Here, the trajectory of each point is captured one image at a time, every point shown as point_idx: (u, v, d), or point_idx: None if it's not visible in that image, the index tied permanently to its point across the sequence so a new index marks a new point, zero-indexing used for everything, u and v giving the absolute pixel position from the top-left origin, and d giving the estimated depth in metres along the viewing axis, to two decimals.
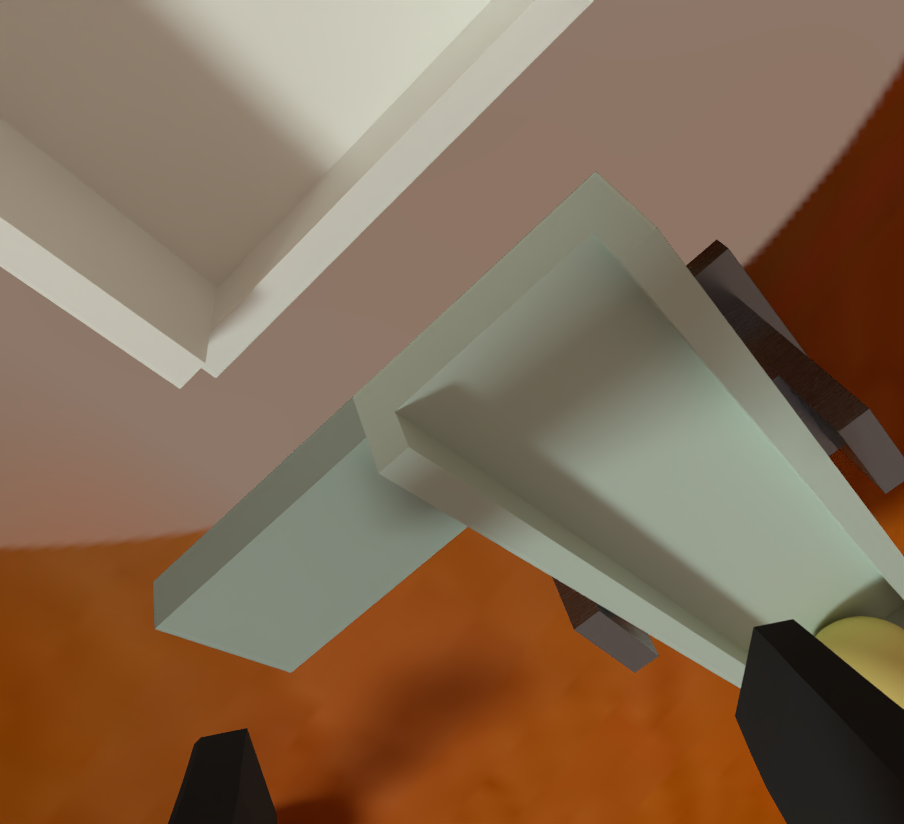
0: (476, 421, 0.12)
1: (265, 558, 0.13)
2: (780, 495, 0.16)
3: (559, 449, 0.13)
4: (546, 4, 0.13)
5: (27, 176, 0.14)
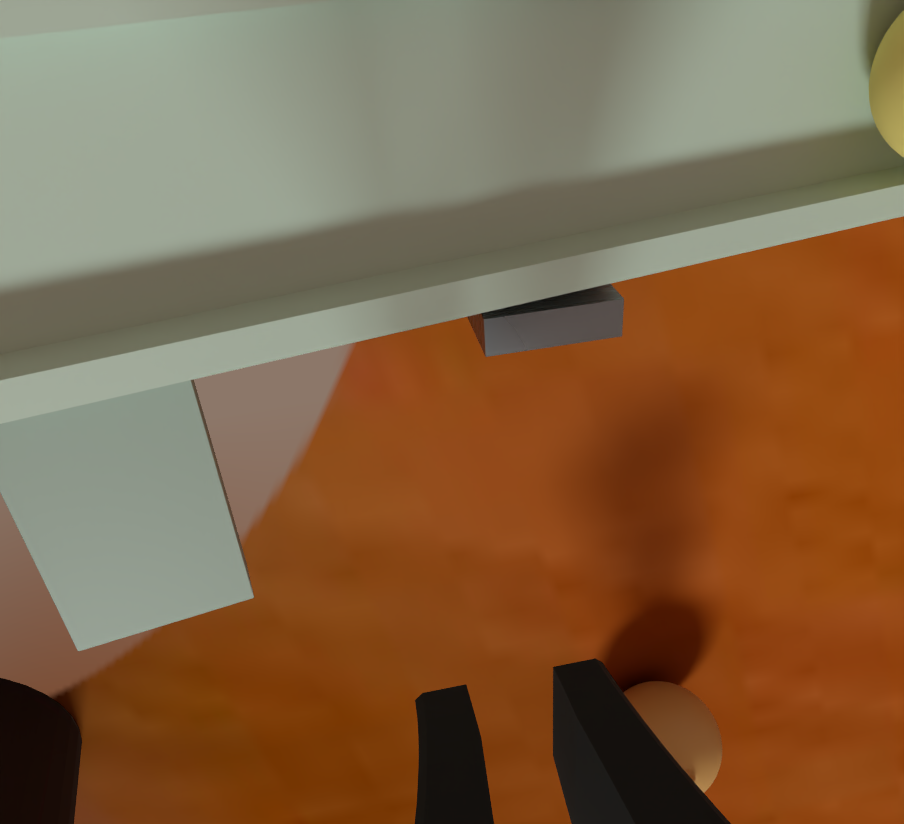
0: (21, 303, 0.10)
1: (62, 547, 0.12)
2: (517, 16, 0.11)
3: (149, 243, 0.11)
4: None
5: None
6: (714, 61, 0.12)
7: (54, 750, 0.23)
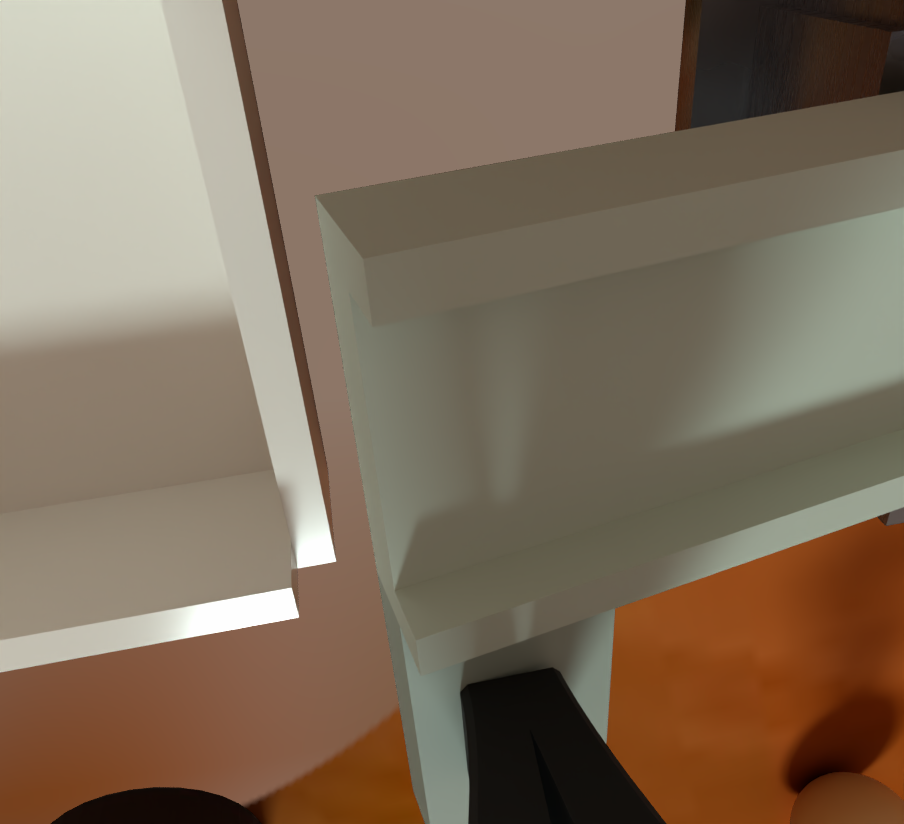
0: (489, 519, 0.09)
1: (451, 750, 0.11)
2: None
3: (623, 447, 0.09)
4: (181, 18, 0.09)
5: (70, 549, 0.14)
6: None
7: None
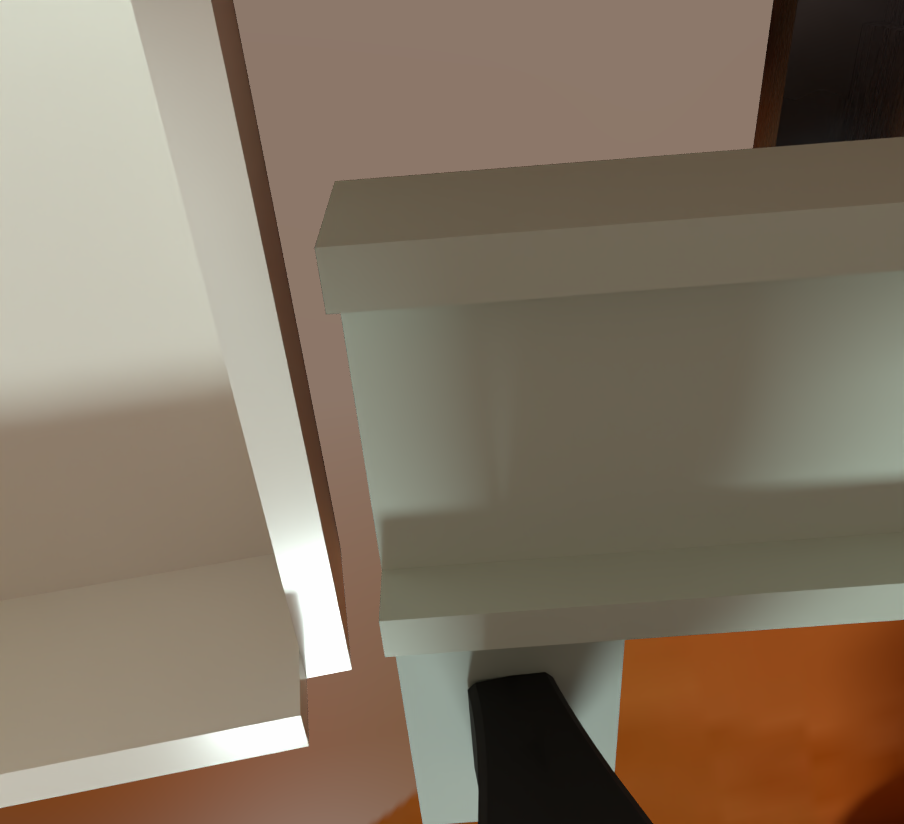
0: (481, 522, 0.09)
1: (441, 738, 0.11)
2: None
3: (634, 479, 0.09)
4: (163, 46, 0.07)
5: (41, 658, 0.12)
6: None
7: None
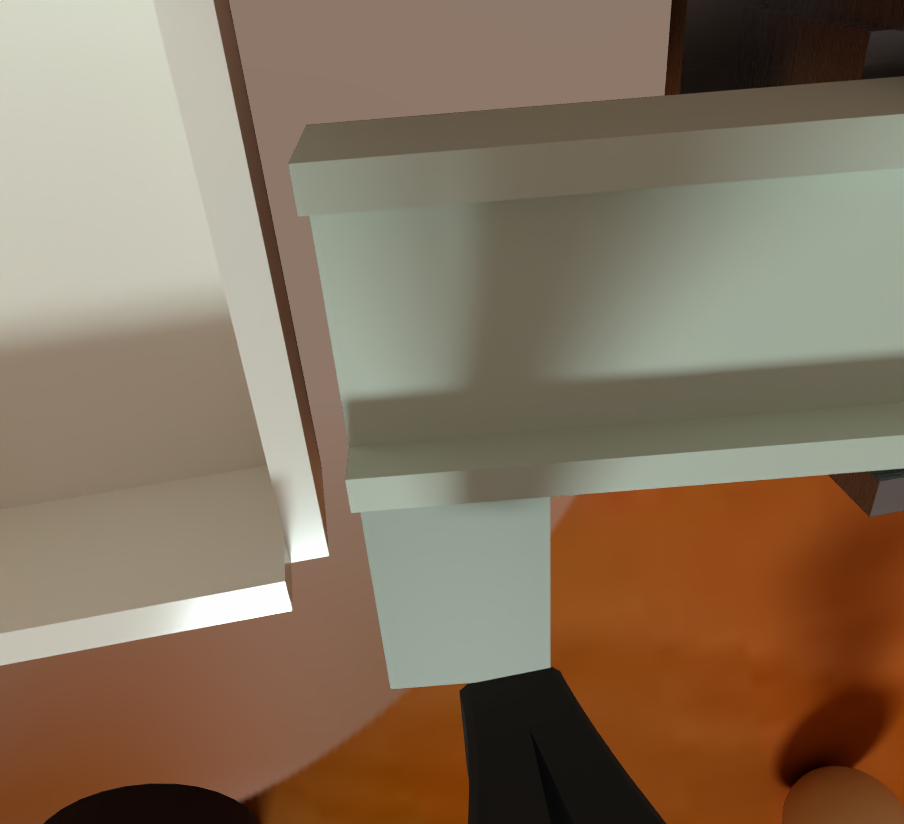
0: (428, 404, 0.11)
1: (403, 604, 0.14)
2: None
3: (548, 365, 0.11)
4: (173, 18, 0.10)
5: (66, 545, 0.14)
6: None
7: None
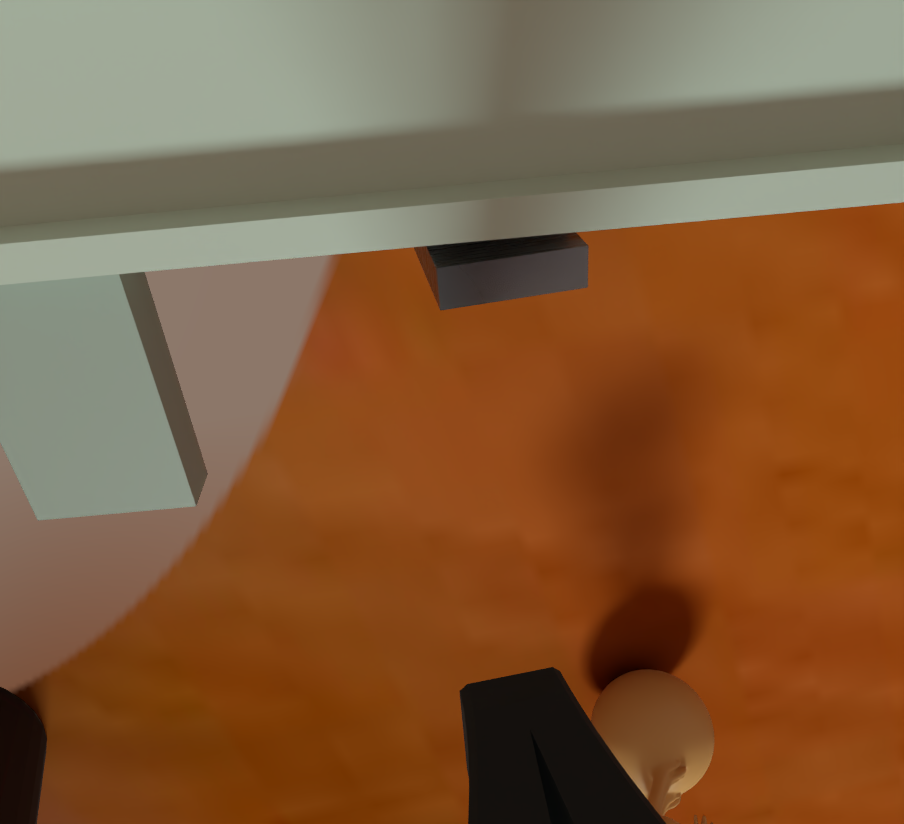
0: None
1: (17, 420, 0.14)
2: None
3: (72, 141, 0.11)
4: None
5: None
6: None
7: (14, 747, 0.22)
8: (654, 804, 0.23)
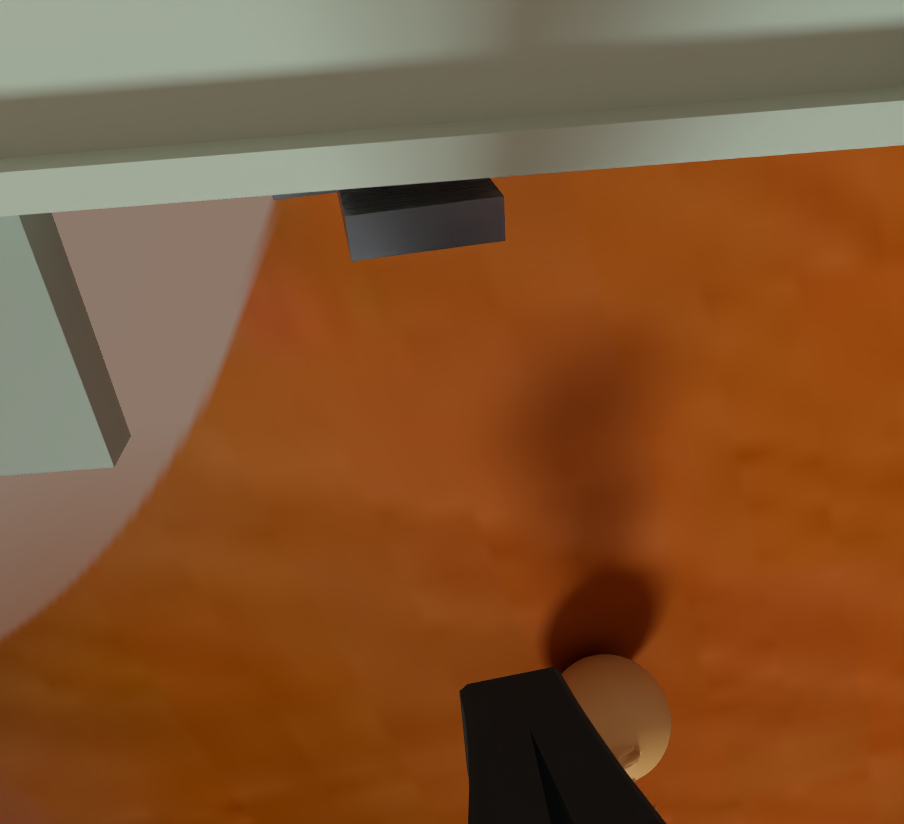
0: None
1: None
2: None
3: None
4: None
5: None
6: None
7: None
8: None
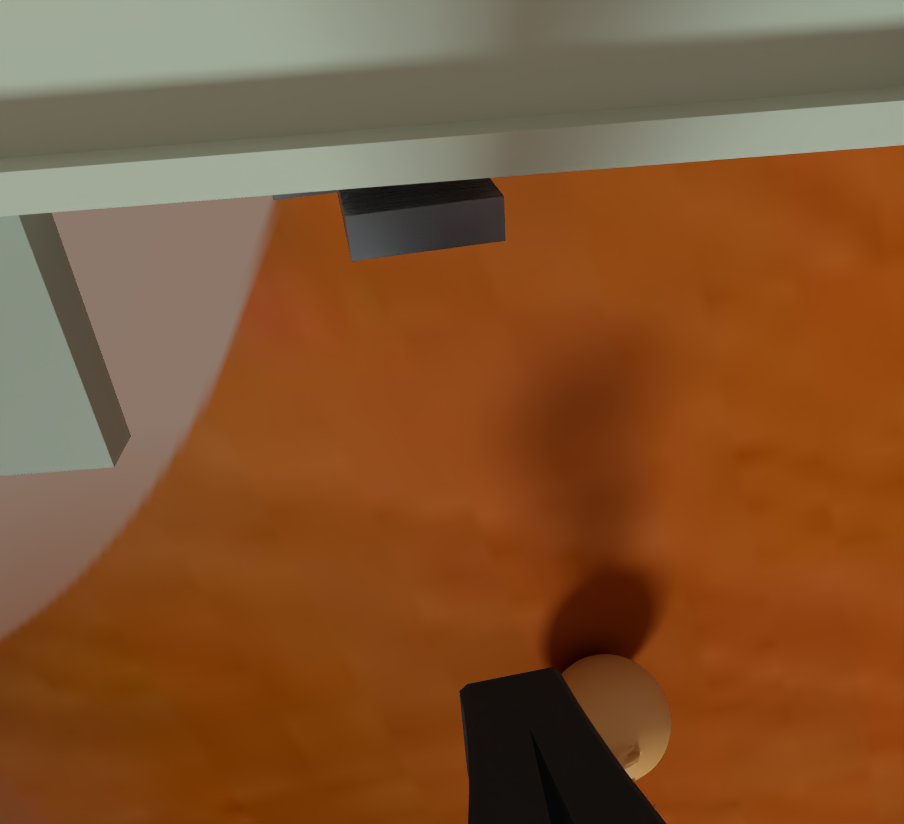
0: None
1: None
2: None
3: None
4: None
5: None
6: None
7: None
8: None
